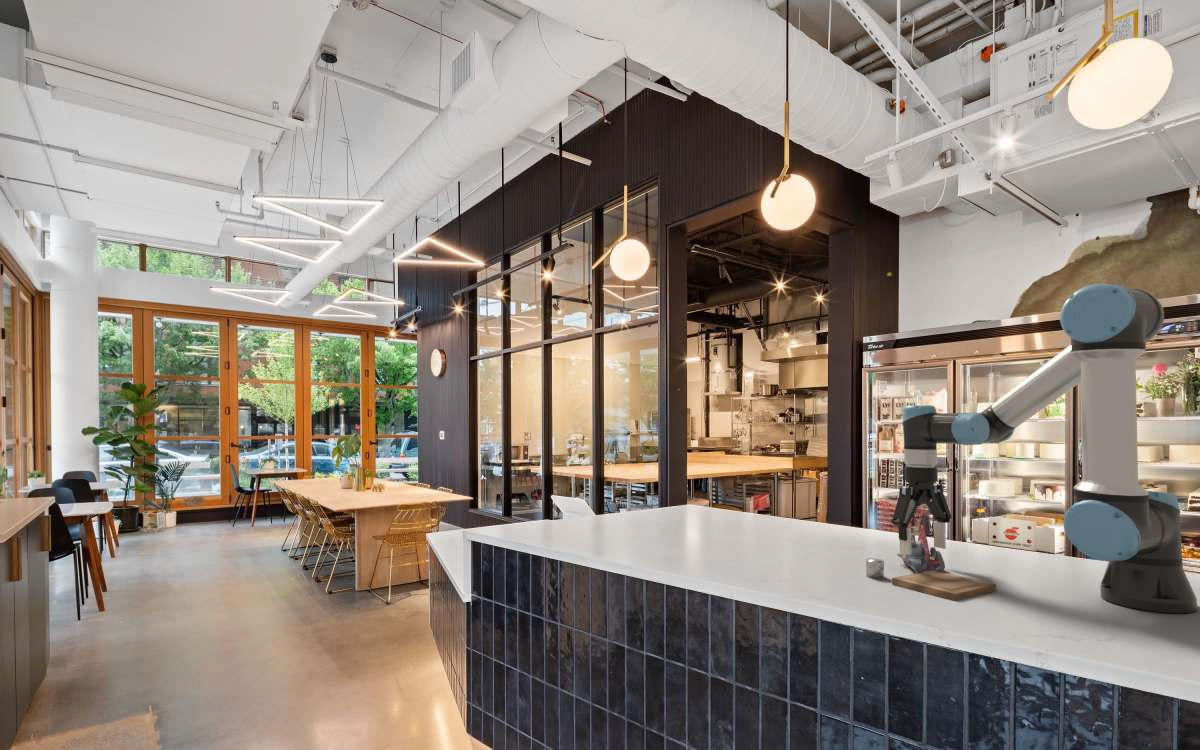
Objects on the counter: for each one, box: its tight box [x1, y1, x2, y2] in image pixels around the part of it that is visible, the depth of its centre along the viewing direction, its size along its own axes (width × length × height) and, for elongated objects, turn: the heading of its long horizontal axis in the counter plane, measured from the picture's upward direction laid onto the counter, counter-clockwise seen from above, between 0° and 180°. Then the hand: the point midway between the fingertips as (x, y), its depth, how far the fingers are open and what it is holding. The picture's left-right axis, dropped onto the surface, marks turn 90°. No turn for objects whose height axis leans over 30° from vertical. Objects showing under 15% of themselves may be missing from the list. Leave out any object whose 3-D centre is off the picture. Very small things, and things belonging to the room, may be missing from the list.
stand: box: [891, 570, 997, 602], centre depth 143 cm, size 15×15×2 cm
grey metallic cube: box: [865, 557, 885, 580], centre depth 153 cm, size 4×4×4 cm
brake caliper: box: [896, 525, 946, 573], centre depth 160 cm, size 11×11×12 cm
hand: (923, 550), depth 159 cm, fingers open, 13 cm apart
